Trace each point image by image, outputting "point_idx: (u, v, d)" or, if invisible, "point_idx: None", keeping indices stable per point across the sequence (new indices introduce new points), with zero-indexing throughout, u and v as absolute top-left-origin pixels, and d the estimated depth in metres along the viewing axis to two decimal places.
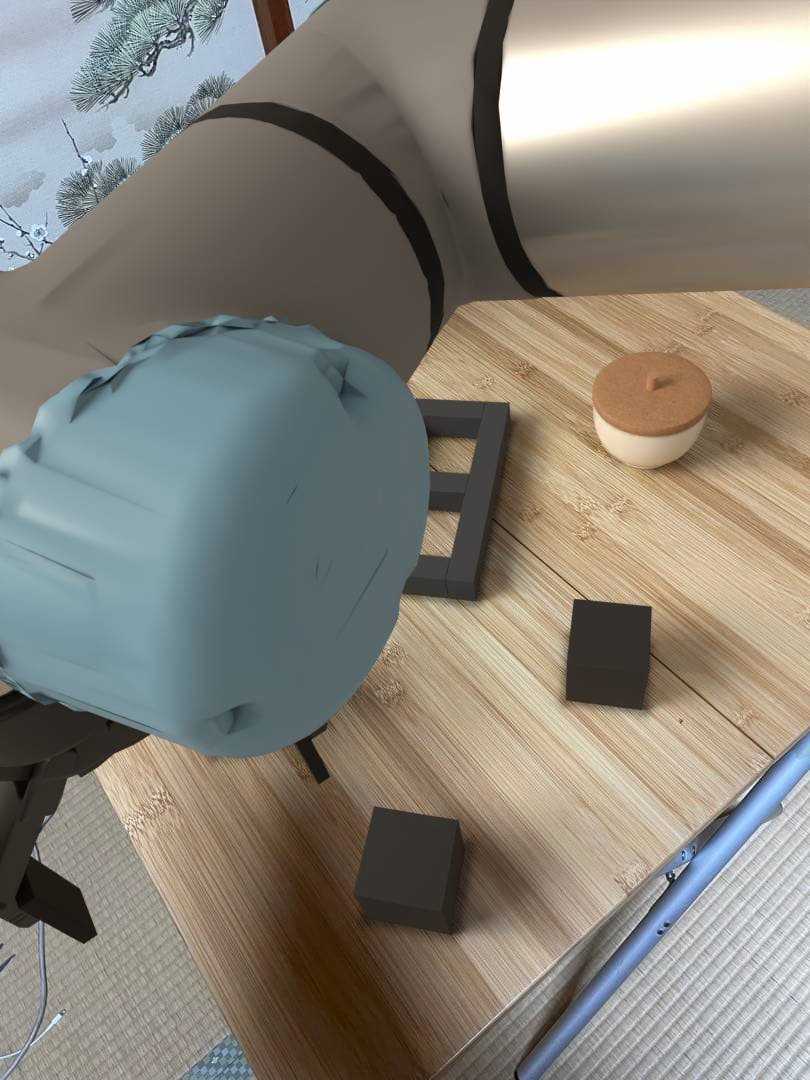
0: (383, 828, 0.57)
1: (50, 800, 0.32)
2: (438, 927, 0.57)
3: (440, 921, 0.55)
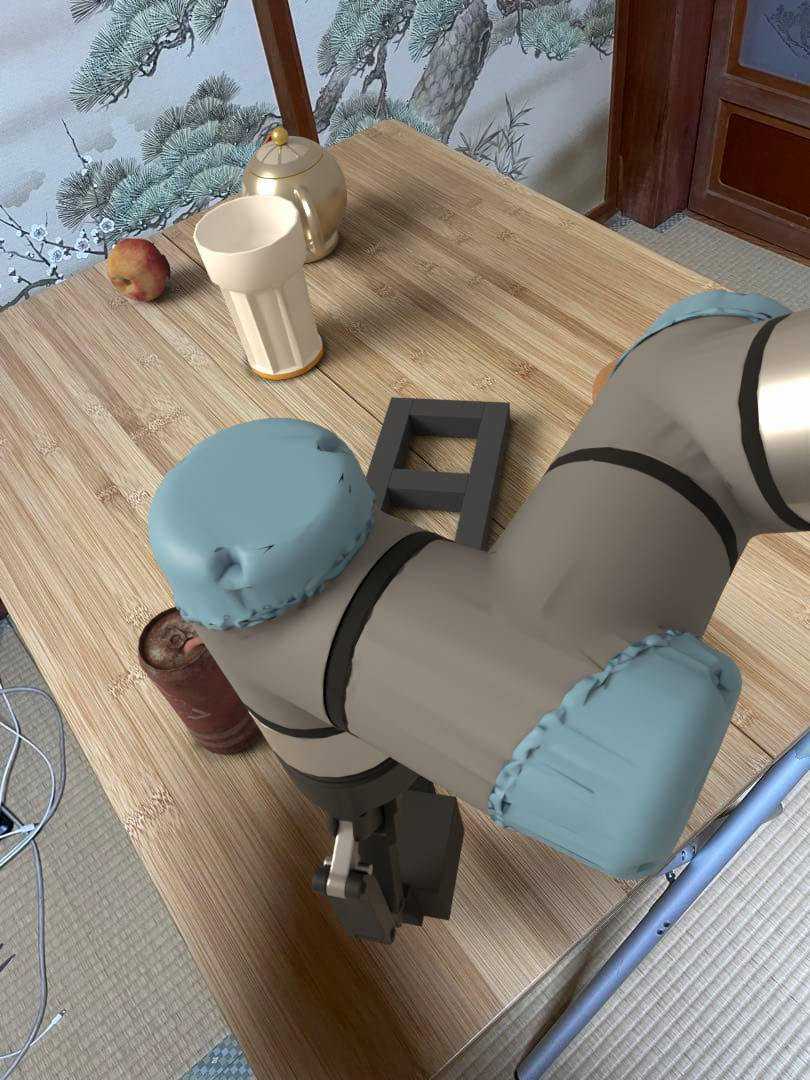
0: None
1: (399, 817, 0.44)
2: (435, 912, 0.53)
3: (437, 905, 0.52)
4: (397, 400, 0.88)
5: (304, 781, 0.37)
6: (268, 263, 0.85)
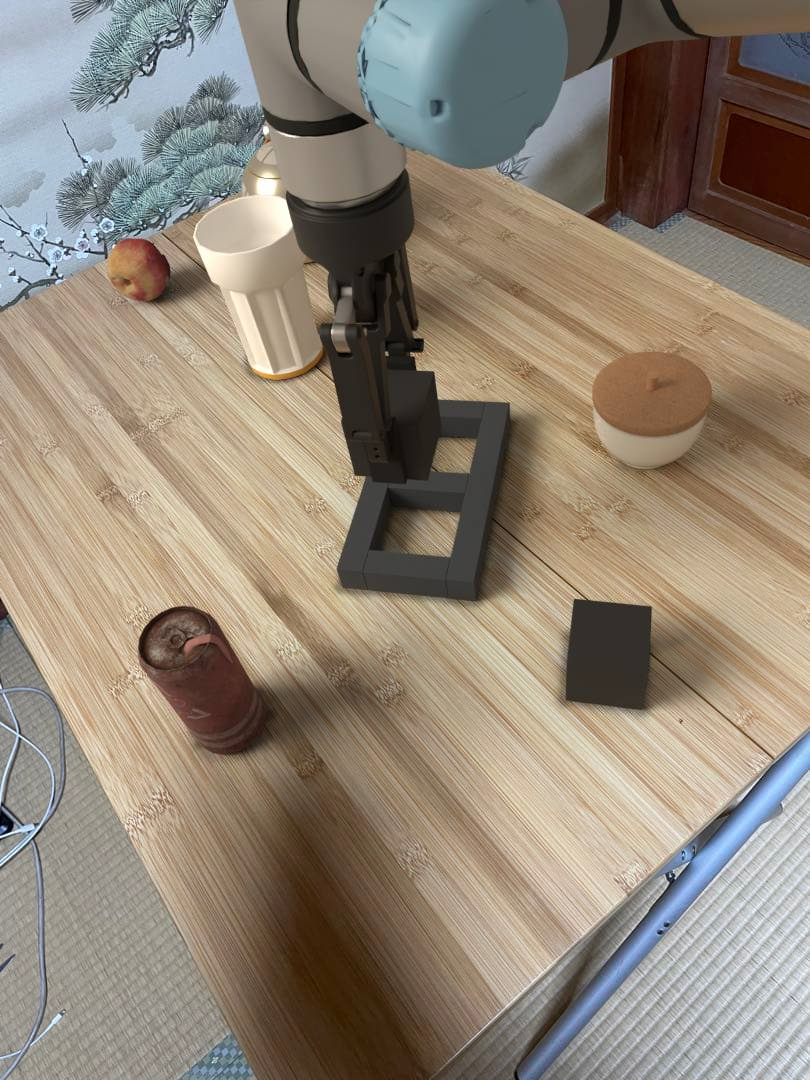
0: None
1: (388, 318, 0.55)
2: (416, 467, 0.64)
3: (417, 450, 0.63)
4: None
5: (315, 221, 0.48)
6: (268, 263, 0.85)
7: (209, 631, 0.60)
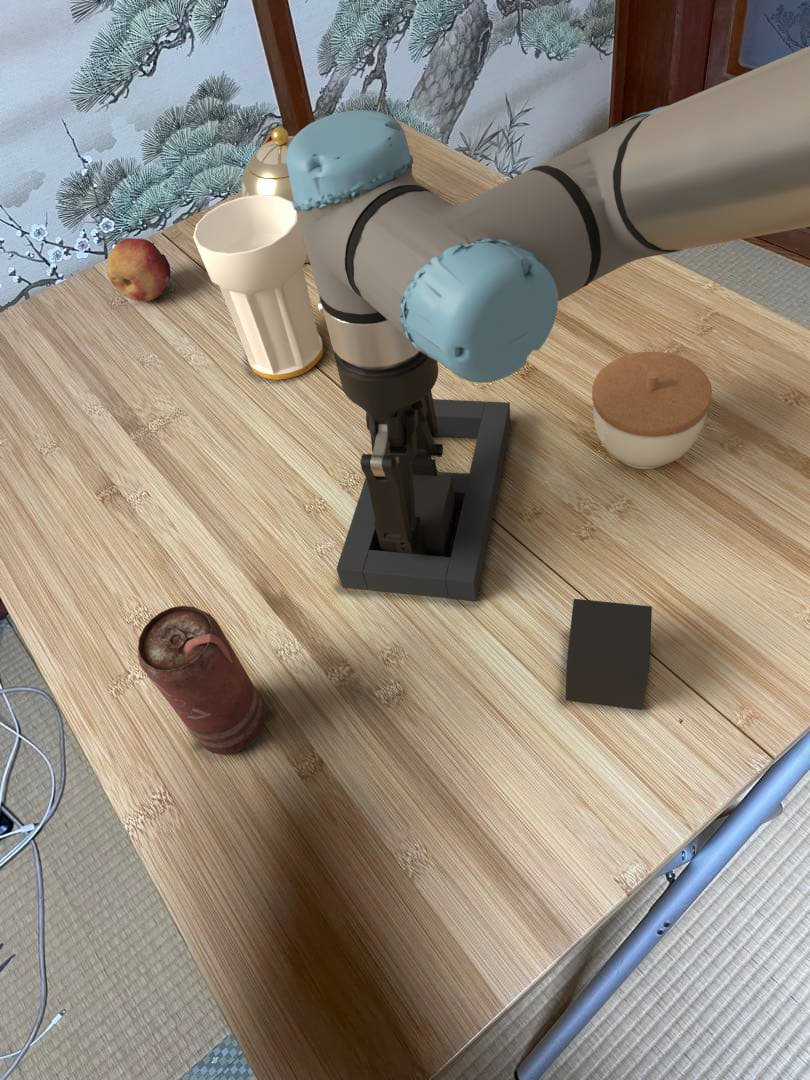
0: None
1: (415, 443, 0.67)
2: None
3: (438, 545, 0.75)
4: None
5: (359, 379, 0.60)
6: (268, 263, 0.85)
7: (209, 631, 0.60)
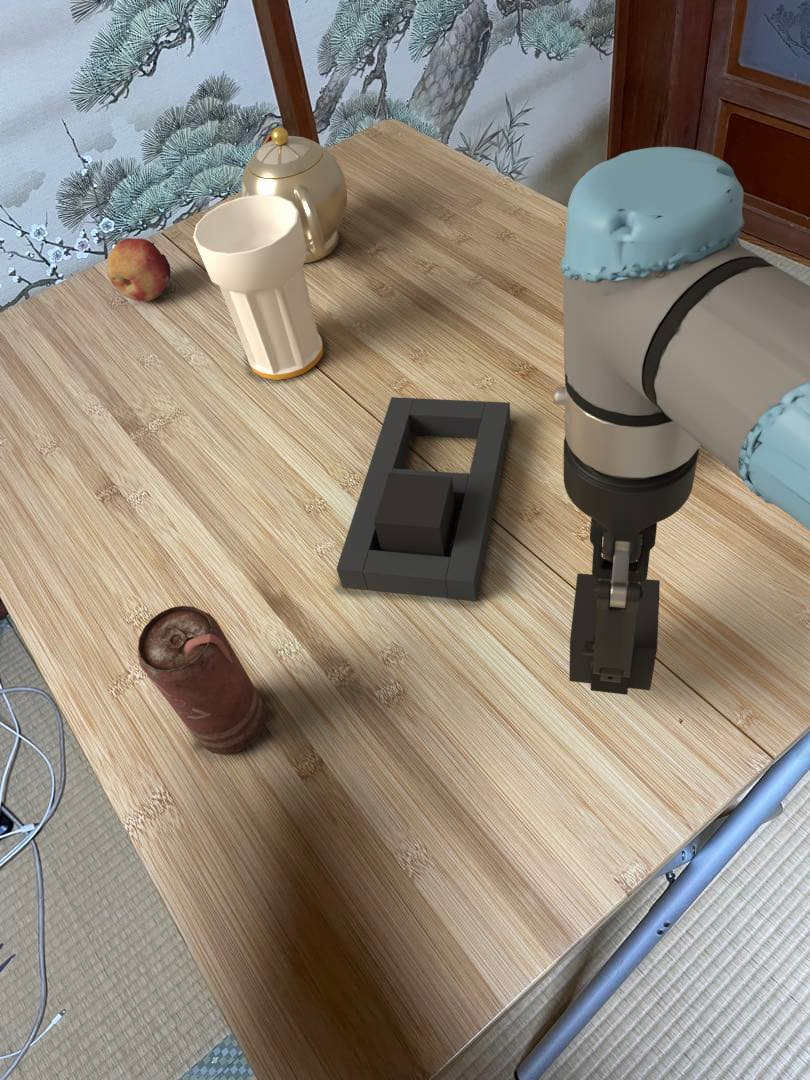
0: (396, 484, 0.77)
1: None
2: None
3: (438, 545, 0.75)
4: (397, 400, 0.88)
5: (608, 490, 0.46)
6: (268, 263, 0.85)
7: (209, 631, 0.60)
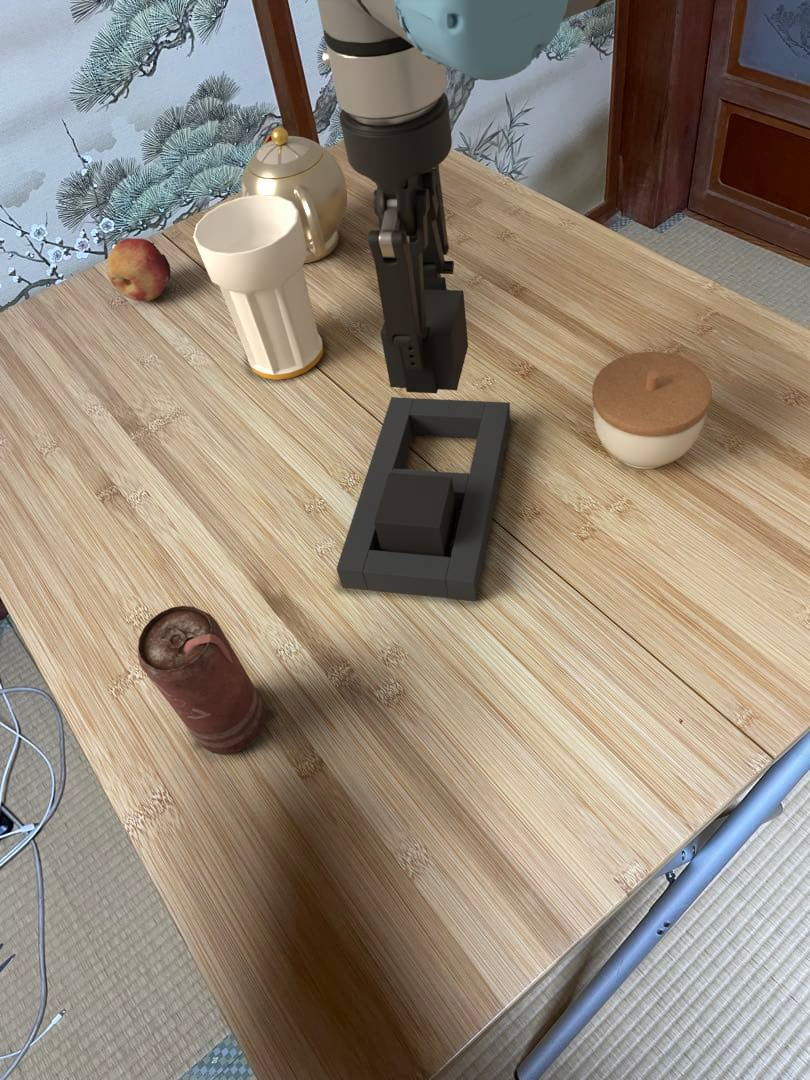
0: (396, 484, 0.77)
1: (426, 231, 0.62)
2: None
3: (438, 545, 0.75)
4: (397, 400, 0.88)
5: (367, 136, 0.55)
6: (268, 263, 0.85)
7: (209, 631, 0.60)
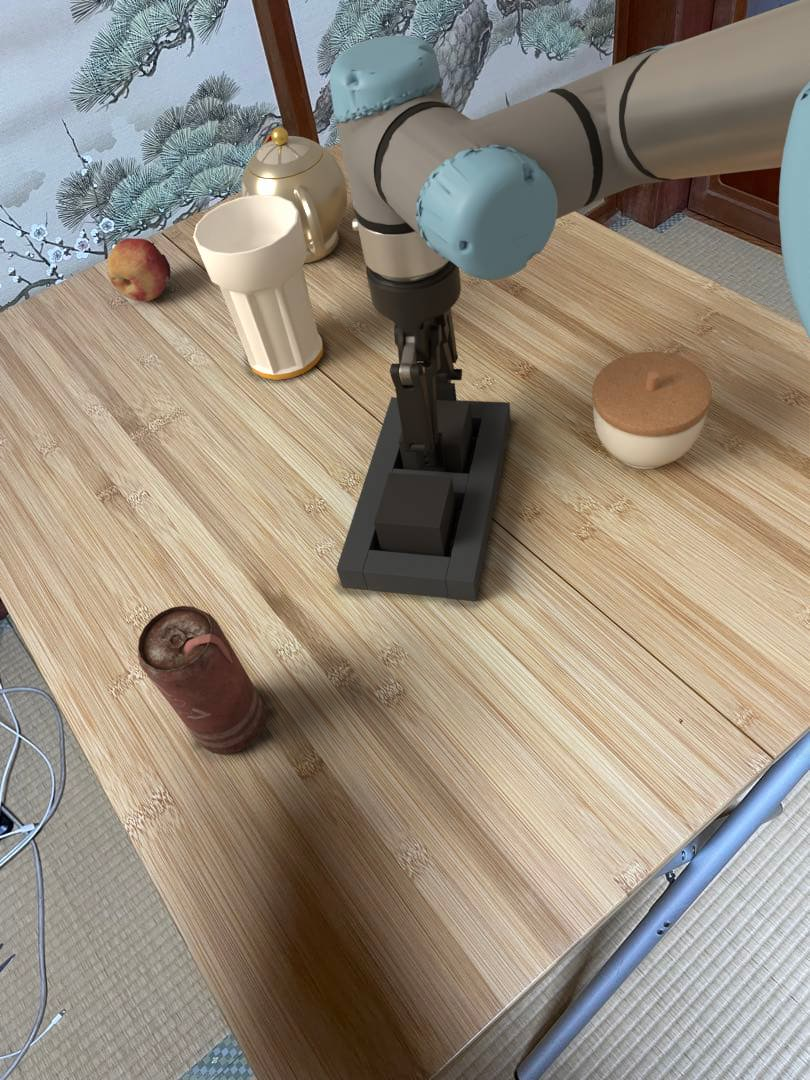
0: (396, 484, 0.77)
1: (439, 358, 0.72)
2: None
3: (438, 545, 0.75)
4: None
5: (390, 290, 0.66)
6: (268, 263, 0.85)
7: (209, 631, 0.60)
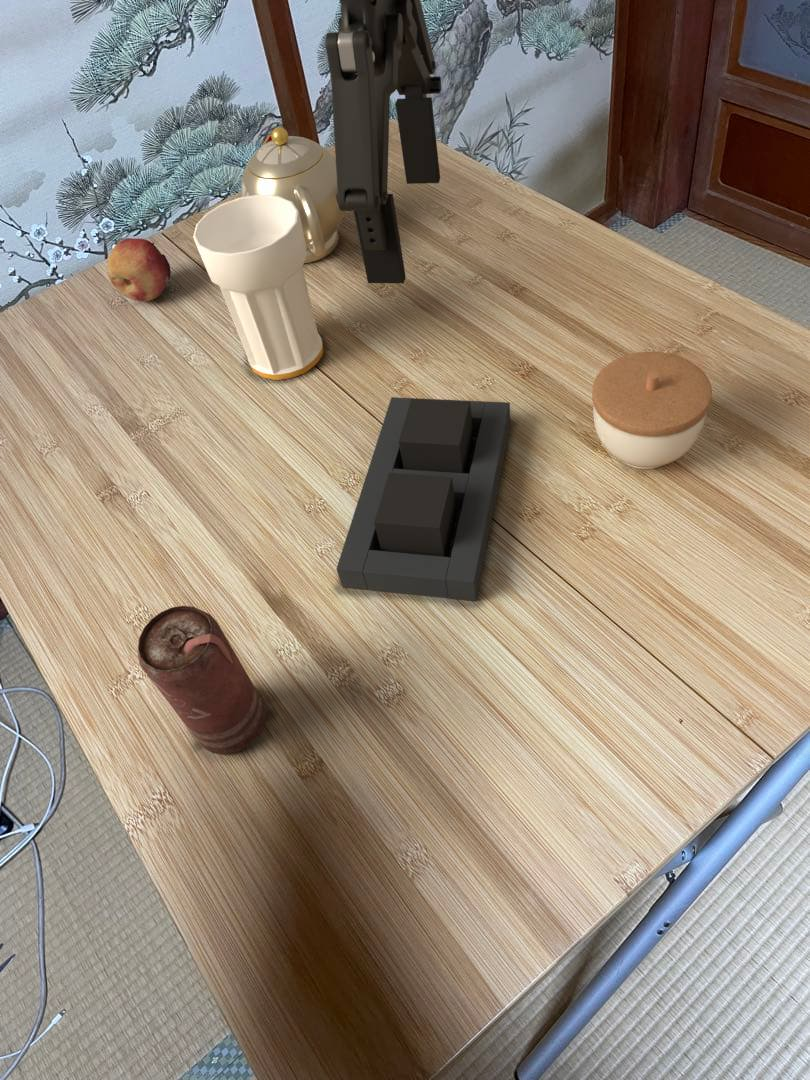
0: (396, 484, 0.77)
1: (396, 68, 0.53)
2: None
3: (438, 545, 0.75)
4: (397, 400, 0.88)
5: None
6: (268, 263, 0.85)
7: (209, 631, 0.60)
